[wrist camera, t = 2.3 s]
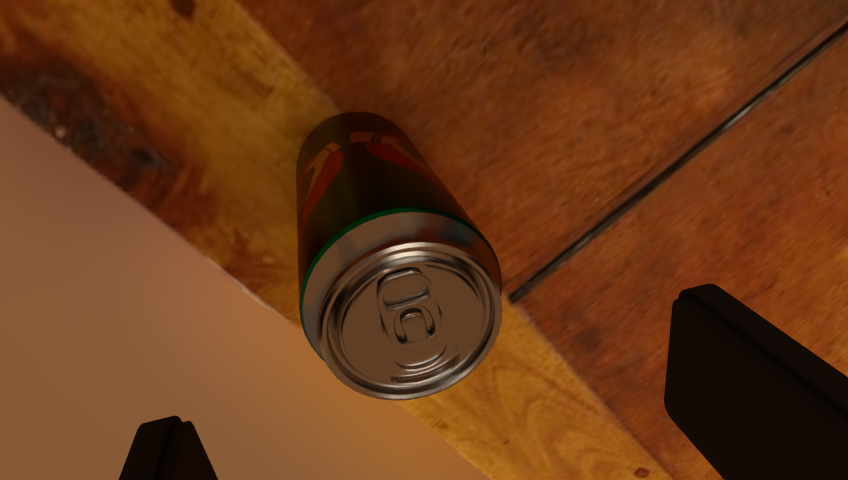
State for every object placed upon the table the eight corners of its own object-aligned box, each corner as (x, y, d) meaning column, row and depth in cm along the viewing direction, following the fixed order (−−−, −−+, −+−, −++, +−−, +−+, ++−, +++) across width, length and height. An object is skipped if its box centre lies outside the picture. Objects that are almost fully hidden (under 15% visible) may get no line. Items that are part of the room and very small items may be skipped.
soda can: (317, 236, 24) (339, 440, 13) (278, 127, 21) (265, 268, 11) (425, 203, 24) (531, 374, 13) (399, 94, 22) (501, 196, 11)
